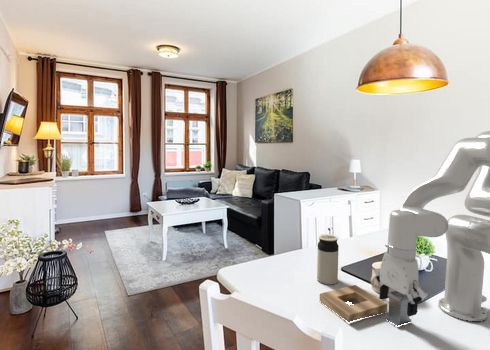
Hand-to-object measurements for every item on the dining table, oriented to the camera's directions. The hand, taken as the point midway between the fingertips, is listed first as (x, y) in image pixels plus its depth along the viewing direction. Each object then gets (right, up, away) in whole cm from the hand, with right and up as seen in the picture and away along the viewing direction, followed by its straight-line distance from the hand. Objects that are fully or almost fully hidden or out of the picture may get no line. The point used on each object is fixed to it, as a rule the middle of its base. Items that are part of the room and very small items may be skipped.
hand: (396, 306), depth 87 cm
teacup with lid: (+5, -3, +20) cm, 20 cm away
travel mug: (-13, -3, +28) cm, 31 cm away
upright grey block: (+1, -5, +1) cm, 5 cm away
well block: (-10, -4, +9) cm, 14 cm away
